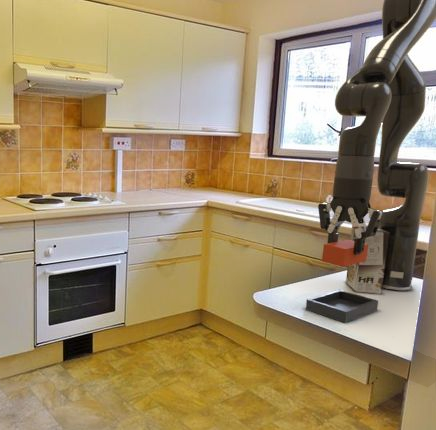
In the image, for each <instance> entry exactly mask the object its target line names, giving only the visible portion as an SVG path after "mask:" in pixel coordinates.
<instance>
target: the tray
mask: <svg viewBox="0 0 436 430" xmlns="http://www.w3.org/2000/svg"><path fill="white" fill-rule="evenodd" d="M305 302H306V303H305V310H306V311H309V312H312V313H315V314H318V315H321V316H324V317H327V318H330V319H332V320H335V321H339V322H342V323H345V324H346V323H348V322H351V321H353V320H357V319H359V318H361V317H364V316H366V315H367V316H368V315H370V314H372V313H374V312H377V311H378V307H379V300H378V299H375V298H371V297H367V296H363V295H361V294H356V293H353V292H350V291H346V290H343V289H337V290H333V291H329V292H327V293H323V294H320V295H316V296H314V297H310V298H306V301H305Z"/></svg>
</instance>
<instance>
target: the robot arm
mask: <svg viewBox="0 0 436 430" xmlns="http://www.w3.org/2000/svg"><path fill="white" fill-rule="evenodd" d="M435 21H436V0H383V2H382V7H381V26H382V28H381V30H382V39H381V40H380V41H379V42H378V43H377V44H375V46H374V47H373V48H371V50H370V52H369V53H368V55H367V57H366V58H365V60H364V61H363V63H362V66H361V67H360V68H359V69H358V70H356V71H355V72H354V73H353V74H352V75H351V76H350V77H349V78H348V79H347V80H346V81H344V82H343V84H342V85H341V86H340V88H339V89H338V91H337V93H336V95H335V98H334V107H335V110H336V112H337V113H338V114H339V115H340V116H342V117H347V118H358V117H365V118H364V119H363V121H362V122H361V123H360V124H359V125H355V126H352V127H347V128H344V129H343V130H342V131H341V133H340V138H339V144H338V152H337V154H338V155H337V158H336V159H337V160H336V162H335V169H334V177H333V185H332V200H331V201H330V202H321V203H319V204H317V207H318V217H319V225H320V229H322V230H324V231H326V232H327V243H333V242H338V241H339V230H340V228H341V226H342V225H343V224H344V222H347V223H349V224H351V228H352V227H353V228H354V230H355V234H356V237H357V238H355V242H354V251H353V254H354V255H360V254H361V253H362V252H363V251H364V246H365V239H366V238H367V237H371V236H375V235H376V232H377V230H378V228H380V229H383V230H385V231H387V232H389V238H388V245H387V253H386V260H385V267H384V275H383V283H382V289H386V290H391V291H392V290H393V291H403V292H404V291H410V290H412V282H413V278H414V267H415V260H416V253H417V247H418V240H419V239H418V238H419V231H420V225H421V219H422V215H423V211H424V205H425V200H426V195H427V191H428V185H429V179H430V174H429V168H428V167H427V165H426V164H423V163H415V162H398V157H399V152H400V148H401V146H402V144H403V142H404V140H405V139H406V137H407V136H408V135H409V134H410V132H411V131H412V130H413V128H414V127H415V126H416V125H417V123H418V122H419V120H420V119H421V118H422V116H423V114H424V111H425V108H426V91H427V83H426V80H425V78H424V76H423V74H422V73H421V71H420V70H419V69H418V67H417V66H416V64H415V63H414V62H413V60H412V59H411V57H410V56H409V53H410V51H411V50H412V49H413V48H414V47H415V46H416V45H417V43H418V42H419V41H420V39H421V38H422V37H423V36H424V35H425V33H426V32H427V31H428V30H429V28H430V27H432V25H433V23H434V22H435ZM380 129H381V138H380V140H381V141H380V148H379V149H380V150H379V158H378V165H377V166H378V167H377V174H376V175H377V177H376V184H377V186H376V187H377V191H378V193H379V194H380V195H381V196H384V197H389V198H390V197H391V198H400V199H405V200H404V202H403V204H402V205H400V206H398V207H395V208H390V209H385V210H383V209H380V210H378V209H375V208H373V207H372V206H371V204H370V203H371V202H370V201H371V197H372V188H373V180H374V171H375V154H376V147H377V145H376V144H377V139H378V135H379V132H380ZM331 211H332V212H333V216H332V218H331V213H330V212H331ZM367 215H368V218H369V221H368V224H367V225H366V220H365V217H366V216H367ZM365 226H367V229H366V228H365ZM327 243H326V244H327Z"/></svg>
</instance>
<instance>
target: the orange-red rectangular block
mask: <svg viewBox="0 0 436 430" xmlns="http://www.w3.org/2000/svg"><path fill="white" fill-rule="evenodd" d="M354 242H355V241H351V240H350V239H345V240H344V239H343V240H338V242H333V243H324V244H323V250H322V255H321V262H323V263H327V264H331V265H335V266H338V267H341V268H344V267H345V268H346V267H348V266H349V265H353V264H357V263H361V262H365V261H366V258H367V252H368V244H365V246H364V251H363V252H362V253H361V254H360V255H354V254H353V251H354Z"/></svg>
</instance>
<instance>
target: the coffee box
mask: <svg viewBox="0 0 436 430" xmlns="http://www.w3.org/2000/svg"><path fill="white" fill-rule="evenodd" d="M367 226H368V225H366V226H365V228H366V229H367ZM355 238H357V237H356V234H355V230H354V228H353V227H352V226H351V231H350V239H349V240H351V241H355ZM388 238H389V232H387V231H385V230H383V229H380V228H378V230H377V232H376V235H375V236H371V237H367V238H366V239H365V244H368V252H367V258H366V261H365V262H361V263H357V264H353V265H349V266H346V267H347V269H346V278H345V283H346V284H347V285H348V286H349V287H350V288H352V289H353V291H355V292H357V293H370V294H376V295H377V294H378V295H381V294H382V289H383V288H382V283H383V275H384V267H385V260H386V253H387V245H388Z"/></svg>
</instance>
